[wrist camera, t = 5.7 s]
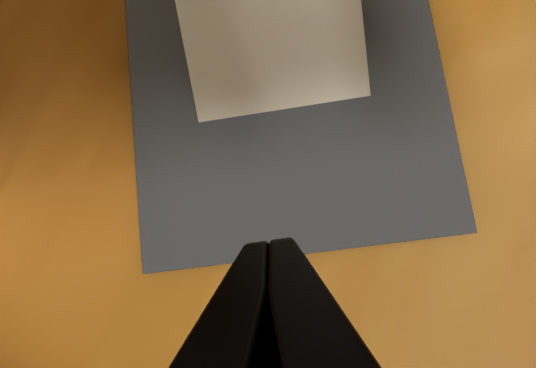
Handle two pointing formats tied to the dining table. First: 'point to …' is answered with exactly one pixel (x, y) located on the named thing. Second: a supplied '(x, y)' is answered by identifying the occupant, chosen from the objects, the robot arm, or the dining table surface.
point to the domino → (272, 54)
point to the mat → (295, 151)
